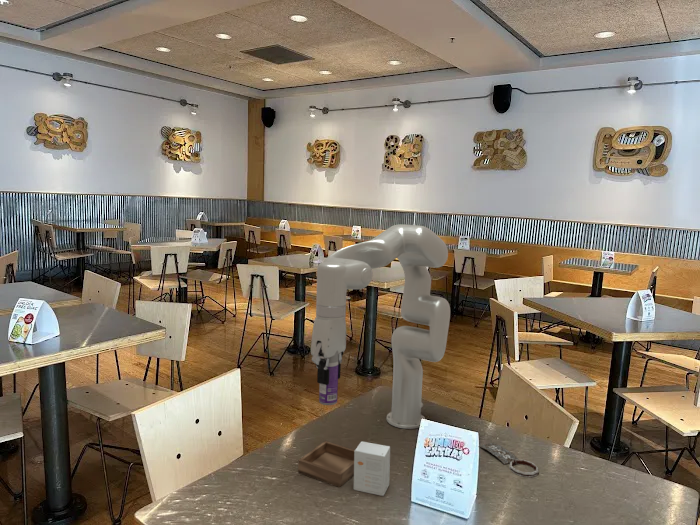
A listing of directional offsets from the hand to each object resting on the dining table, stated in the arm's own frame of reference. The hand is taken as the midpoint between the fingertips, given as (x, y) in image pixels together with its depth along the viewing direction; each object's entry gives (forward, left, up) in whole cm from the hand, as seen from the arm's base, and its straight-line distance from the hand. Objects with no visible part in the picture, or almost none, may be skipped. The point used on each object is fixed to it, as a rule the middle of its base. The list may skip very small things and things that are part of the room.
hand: (328, 379), depth 134 cm
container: (0, 0, -6) cm, 6 cm away
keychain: (-35, +39, -26) cm, 59 cm away
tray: (-3, 0, -26) cm, 26 cm away
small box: (-1, +13, -26) cm, 29 cm away
